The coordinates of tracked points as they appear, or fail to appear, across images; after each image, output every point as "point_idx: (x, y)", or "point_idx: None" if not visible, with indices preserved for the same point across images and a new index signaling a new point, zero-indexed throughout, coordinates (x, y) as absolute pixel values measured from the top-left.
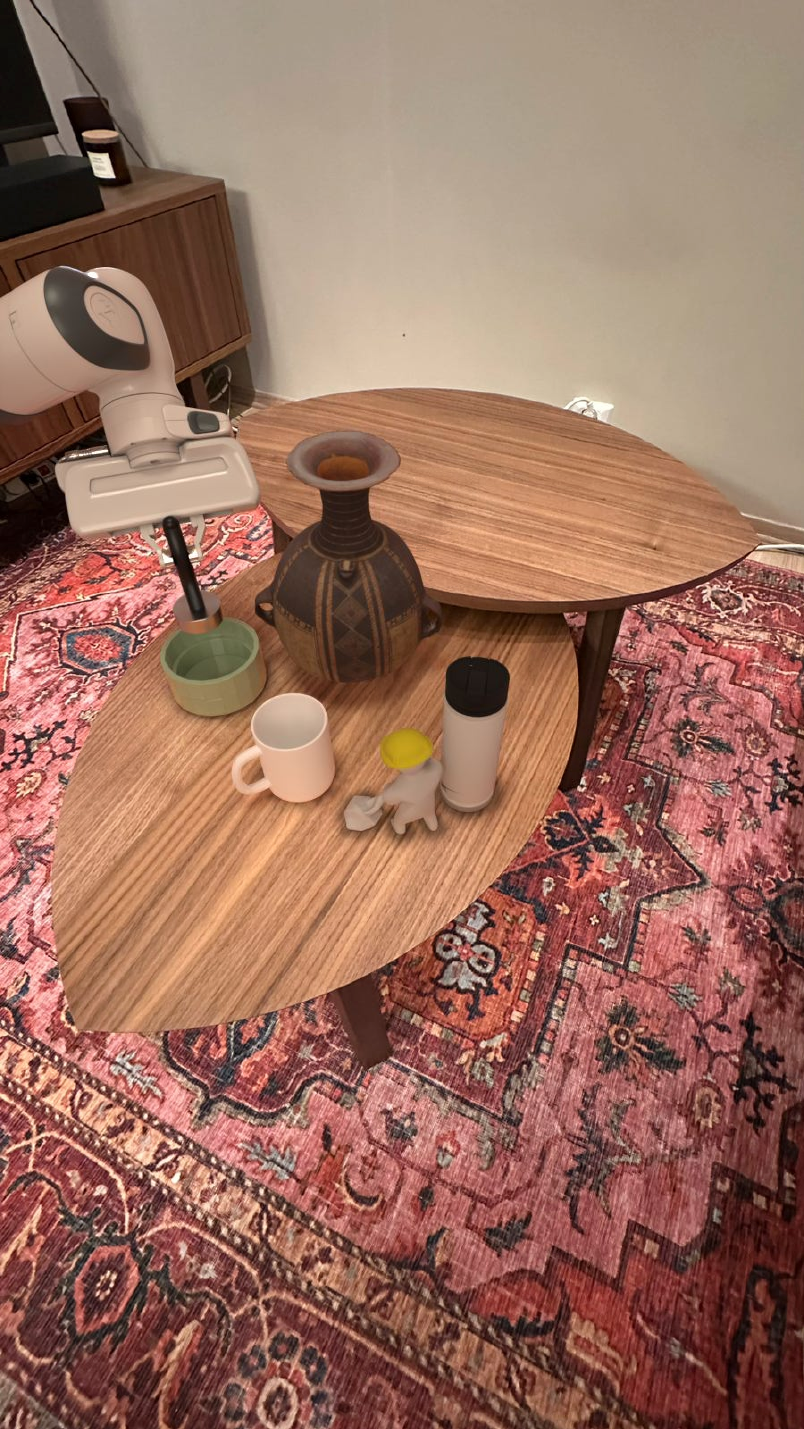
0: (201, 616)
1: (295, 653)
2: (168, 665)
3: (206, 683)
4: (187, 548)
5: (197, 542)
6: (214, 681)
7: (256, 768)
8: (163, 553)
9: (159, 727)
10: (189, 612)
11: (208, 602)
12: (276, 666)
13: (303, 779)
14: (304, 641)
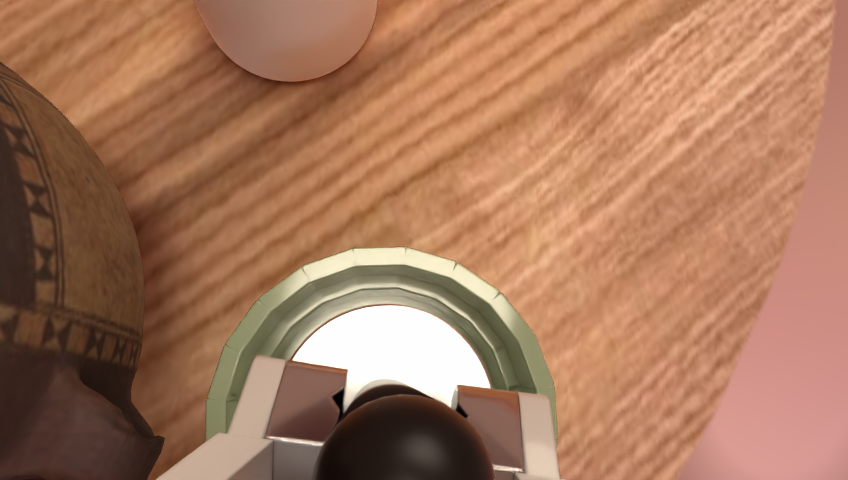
0: (386, 327)
1: (117, 200)
2: None
3: (438, 259)
4: (331, 424)
5: (238, 438)
6: (412, 256)
7: (384, 75)
8: (512, 451)
9: (581, 320)
10: (428, 380)
11: None
12: (203, 407)
13: None
14: (53, 124)
